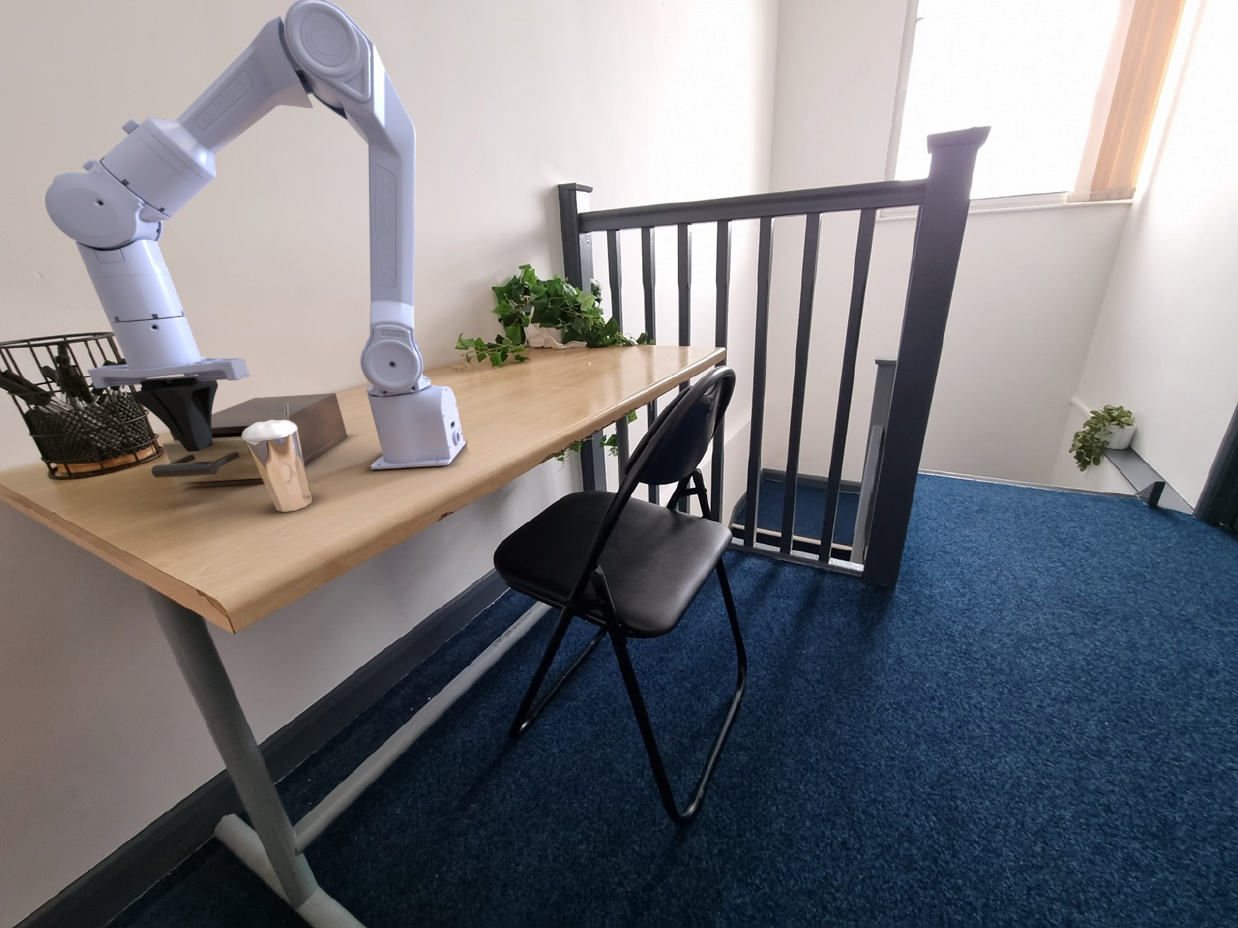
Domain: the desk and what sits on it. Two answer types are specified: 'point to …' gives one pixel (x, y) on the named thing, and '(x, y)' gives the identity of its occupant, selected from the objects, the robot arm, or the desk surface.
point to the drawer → (209, 461)
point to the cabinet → (308, 412)
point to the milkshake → (280, 461)
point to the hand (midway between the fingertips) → (200, 448)
